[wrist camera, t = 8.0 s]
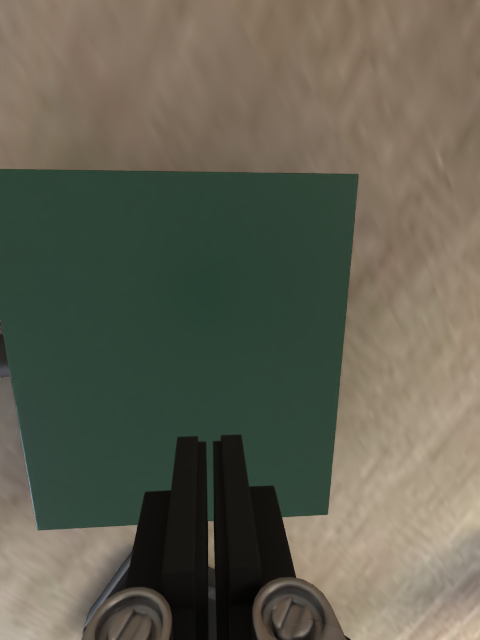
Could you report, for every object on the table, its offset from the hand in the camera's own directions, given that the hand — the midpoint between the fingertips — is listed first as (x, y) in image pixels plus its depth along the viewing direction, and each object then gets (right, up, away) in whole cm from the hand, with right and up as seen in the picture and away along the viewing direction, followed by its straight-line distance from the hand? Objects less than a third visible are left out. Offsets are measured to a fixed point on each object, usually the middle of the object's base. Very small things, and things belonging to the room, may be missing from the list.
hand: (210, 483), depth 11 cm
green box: (+5, +3, +9) cm, 11 cm away
